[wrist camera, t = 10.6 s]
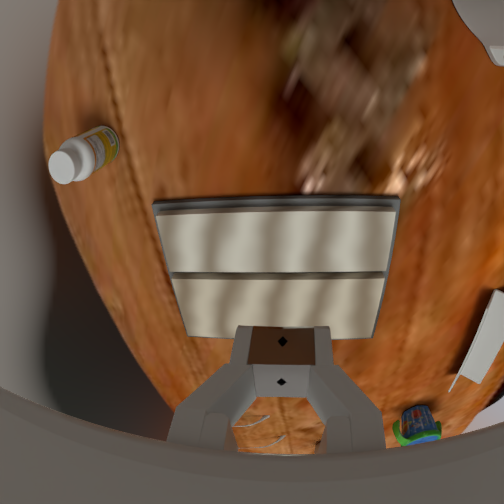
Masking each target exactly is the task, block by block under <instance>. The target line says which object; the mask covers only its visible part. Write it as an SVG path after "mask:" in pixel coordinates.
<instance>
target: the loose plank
mask: <svg viewBox="0 0 504 504" xmlns="http://www.w3.org/2000/svg"><path fill="white" fill-rule="evenodd" d="M384 280H385V278H384V275H383V272H359V273H174V275H173V277H172V283H173V286H174V290H175V294H176V297H177V300H178V304H179V307H180V311H181V314H182V317H183V321H184V324H185V327H186V330H187V333H188V336H200V337H218V338H235V333H236V329H237V327H238V325H243V326H272V327H294V326H313V327H314V326H329V327H330V332H331V339H348V338H371V335H372V331H373V327H374V323H375V319H376V315H377V311H378V307H379V303H380V298H381V294H382V289H383V285H384Z"/></svg>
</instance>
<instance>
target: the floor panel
mask: <svg viewBox="0 0 504 504" xmlns="http://www.w3.org/2000/svg"><path fill="white" fill-rule="evenodd" d="M152 208H153V213H154V217H155V221H156V225H157V230H158V234H159V238H160V242H161V246H162V250H163V253H164V257H165V261H166V265H167V269H168V272H169V276H170V279H171V283H172V277H173V275H174V273H359V272H383V275H384V278H385V280H384V285H383V289H382V294H381V298H380V303H379V307H378V311H377V315H376V319H375V323H374V327H373V331H372V335H371V338H373V336H374V332H375V328H376V324H377V320H378V317H379V313H380V308H381V304H382V300H383V296H384V291H385V287H386V282H387V278H388V273H389V268H390V263H391V257H392V252H393V246H394V241H395V235H396V228H397V222H398V215H399V208H400V198H399V197H397V196H352V195H298V196H251V197H224V198H202V199H184V200H168V201H154V202H153V204H152ZM172 287H173V290H174V286H173V283H172ZM174 294H175V290H174ZM175 297H176V294H175ZM176 300H177V297H176ZM177 304H178V300H177ZM178 307H179V304H178ZM179 311H180V307H179ZM180 314H181V311H180ZM181 317H182V314H181ZM182 320H183V317H182ZM183 324H184V321H183ZM184 327H185V324H184ZM185 330H186V327H185ZM186 333H187V330H186ZM187 336H188V333H187ZM189 337H200V336H189ZM205 338H218V337H205ZM224 339H234V338H224ZM348 339H366V338H348ZM331 340H340V339H331Z"/></svg>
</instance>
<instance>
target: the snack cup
mask: <svg viewBox="0 0 504 504" xmlns="http://www.w3.org/2000/svg"><path fill="white" fill-rule="evenodd" d="M399 426H400V421H399V420H397V421H396V422H394V424H393V427H392V428H393V432H394V435H395V437H396V439H397V441H398V442H399V443H400V444H401V446H408V445H414V444H419V443H425V442H430V441H435V440H439V439H440V438H441V432H442V431H441V423H440V421H437V422H435V421H434V419H433V417H432V414H431V412H430V410H429V408H428V406H425V405H421V406H415V407H413V408H410V409H408V410H407V411H405V412H404V414H403V415H402V434H401V432H400V429H399Z"/></svg>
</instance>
